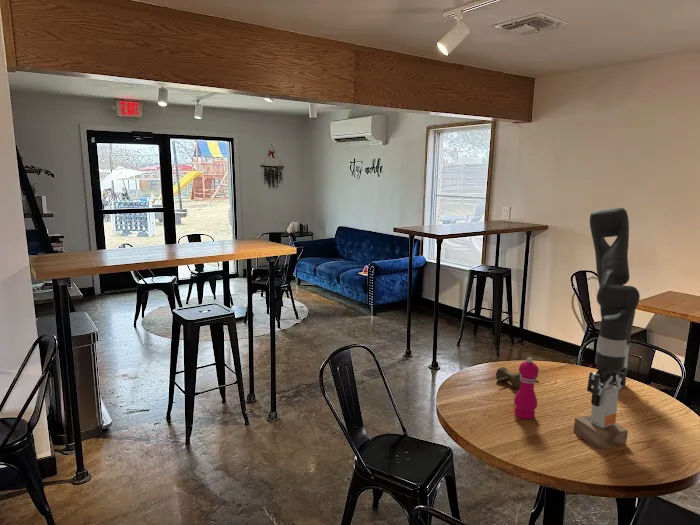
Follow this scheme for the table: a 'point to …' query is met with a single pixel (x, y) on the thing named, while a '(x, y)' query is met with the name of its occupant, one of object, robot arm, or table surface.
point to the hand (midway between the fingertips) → (604, 402)
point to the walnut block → (600, 433)
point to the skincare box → (606, 407)
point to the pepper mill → (526, 390)
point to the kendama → (509, 377)
